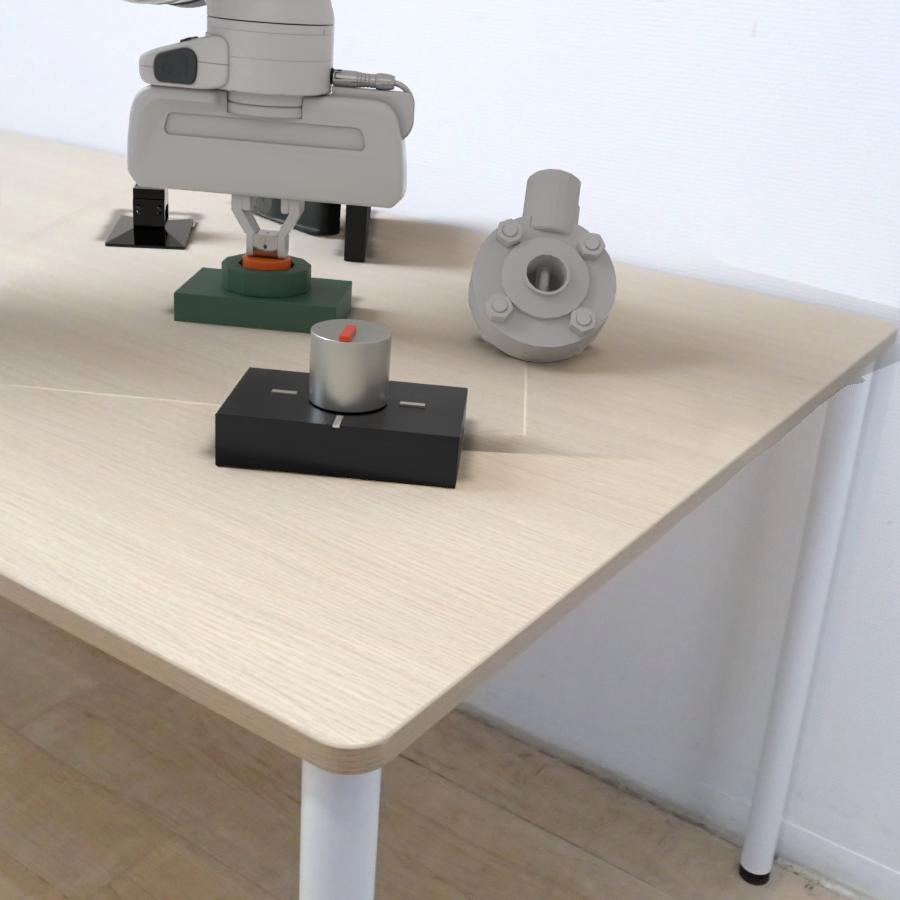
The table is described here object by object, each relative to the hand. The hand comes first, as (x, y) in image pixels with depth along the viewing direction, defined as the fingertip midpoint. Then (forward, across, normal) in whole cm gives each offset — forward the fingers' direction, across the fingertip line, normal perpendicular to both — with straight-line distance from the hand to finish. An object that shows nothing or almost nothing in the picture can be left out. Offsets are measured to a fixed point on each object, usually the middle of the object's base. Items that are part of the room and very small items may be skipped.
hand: (267, 256), depth 88 cm
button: (+2, 0, 0) cm, 2 cm away
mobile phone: (+5, +5, -33) cm, 34 cm away
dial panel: (+5, -10, +25) cm, 27 cm away
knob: (+2, -10, +25) cm, 27 cm away
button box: (+4, 0, 0) cm, 5 cm away
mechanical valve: (+5, -20, -3) cm, 21 cm away
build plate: (+5, +16, -23) cm, 28 cm away
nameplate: (+5, -3, -29) cm, 30 cm away
